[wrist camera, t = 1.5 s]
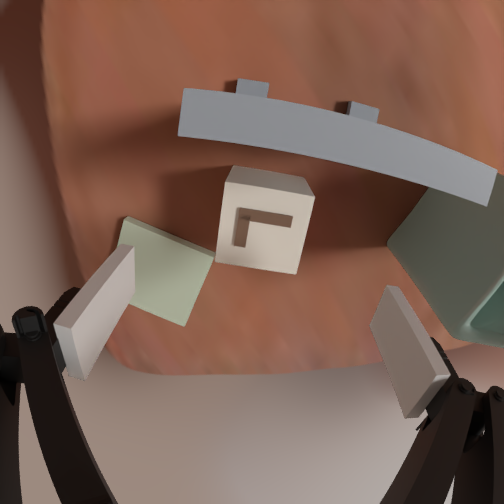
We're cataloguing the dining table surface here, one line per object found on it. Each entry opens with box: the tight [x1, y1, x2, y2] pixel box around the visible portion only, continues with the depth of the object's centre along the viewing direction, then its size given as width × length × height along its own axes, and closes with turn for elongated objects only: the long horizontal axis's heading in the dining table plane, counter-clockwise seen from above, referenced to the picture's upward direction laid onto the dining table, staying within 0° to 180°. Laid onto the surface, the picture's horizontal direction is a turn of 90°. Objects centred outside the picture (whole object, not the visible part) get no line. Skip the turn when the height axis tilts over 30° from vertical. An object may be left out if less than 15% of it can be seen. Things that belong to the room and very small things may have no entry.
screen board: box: [178, 78, 498, 207], centre depth 17 cm, size 12×5×16 cm, turn 81°
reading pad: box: [117, 216, 215, 327], centre depth 30 cm, size 9×9×1 cm
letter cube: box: [215, 165, 315, 274], centre depth 24 cm, size 6×6×6 cm
